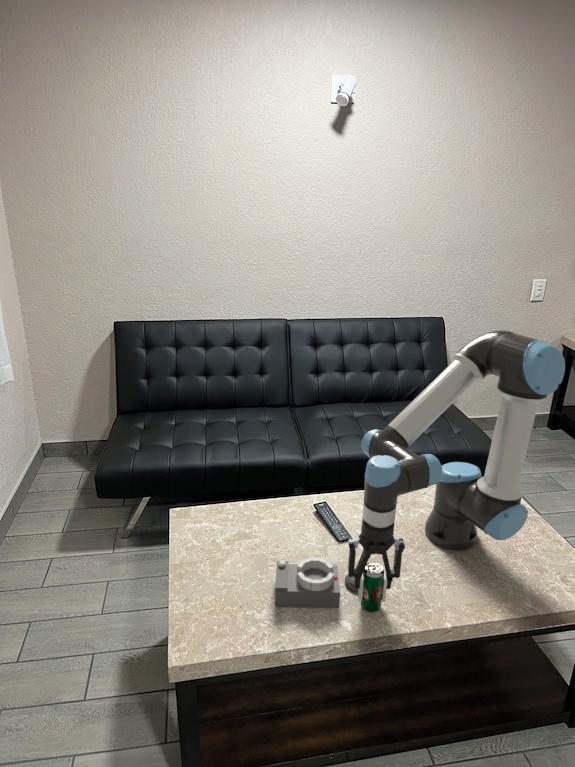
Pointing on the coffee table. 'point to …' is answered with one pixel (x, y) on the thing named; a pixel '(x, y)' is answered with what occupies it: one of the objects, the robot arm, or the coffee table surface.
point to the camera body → (307, 584)
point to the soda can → (372, 587)
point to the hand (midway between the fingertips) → (371, 597)
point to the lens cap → (350, 583)
